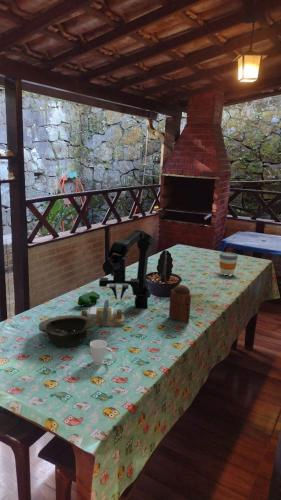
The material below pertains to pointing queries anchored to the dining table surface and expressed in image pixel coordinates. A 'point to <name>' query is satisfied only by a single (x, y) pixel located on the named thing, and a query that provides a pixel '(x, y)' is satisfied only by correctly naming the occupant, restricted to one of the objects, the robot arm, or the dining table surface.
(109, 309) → the olive wooden block
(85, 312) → the plane body
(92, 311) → the mat
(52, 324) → the stone bowl
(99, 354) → the cup
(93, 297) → the green lumpy block
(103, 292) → the dining table surface
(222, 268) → the reusable coffee cup
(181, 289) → the wooden figurine
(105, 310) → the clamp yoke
